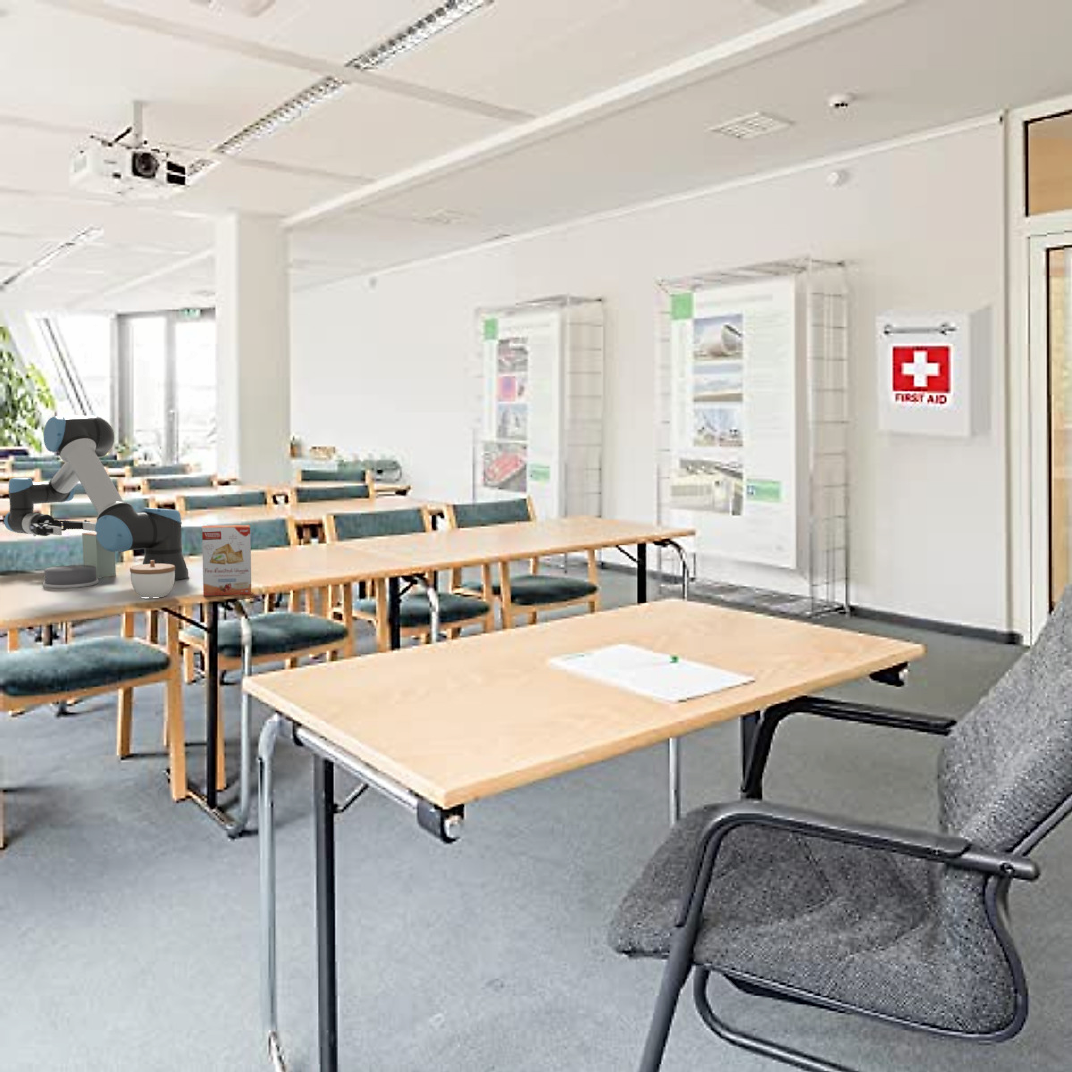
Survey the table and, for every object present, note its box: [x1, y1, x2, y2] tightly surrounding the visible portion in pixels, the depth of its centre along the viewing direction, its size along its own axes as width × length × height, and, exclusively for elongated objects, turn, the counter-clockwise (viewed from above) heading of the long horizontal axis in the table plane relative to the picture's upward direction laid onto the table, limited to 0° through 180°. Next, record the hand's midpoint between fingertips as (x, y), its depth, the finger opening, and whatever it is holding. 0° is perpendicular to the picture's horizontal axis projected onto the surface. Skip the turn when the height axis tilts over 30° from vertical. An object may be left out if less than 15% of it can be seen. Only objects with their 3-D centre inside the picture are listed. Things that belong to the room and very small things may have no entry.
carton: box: [81, 531, 117, 579], centre depth 348 cm, size 7×7×14 cm
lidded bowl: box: [129, 560, 176, 598], centre depth 310 cm, size 13×13×11 cm
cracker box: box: [201, 524, 252, 597], centre depth 315 cm, size 14×6×21 cm, turn 105°
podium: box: [42, 564, 99, 589], centre depth 332 cm, size 16×16×5 cm
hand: (78, 529), depth 352 cm, fingers open, 13 cm apart
